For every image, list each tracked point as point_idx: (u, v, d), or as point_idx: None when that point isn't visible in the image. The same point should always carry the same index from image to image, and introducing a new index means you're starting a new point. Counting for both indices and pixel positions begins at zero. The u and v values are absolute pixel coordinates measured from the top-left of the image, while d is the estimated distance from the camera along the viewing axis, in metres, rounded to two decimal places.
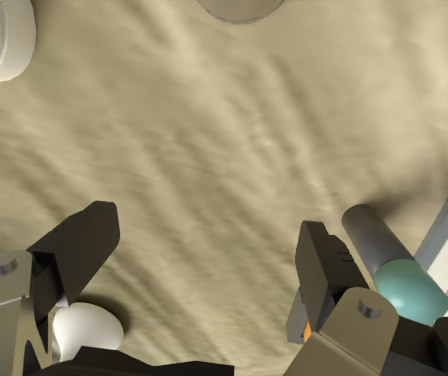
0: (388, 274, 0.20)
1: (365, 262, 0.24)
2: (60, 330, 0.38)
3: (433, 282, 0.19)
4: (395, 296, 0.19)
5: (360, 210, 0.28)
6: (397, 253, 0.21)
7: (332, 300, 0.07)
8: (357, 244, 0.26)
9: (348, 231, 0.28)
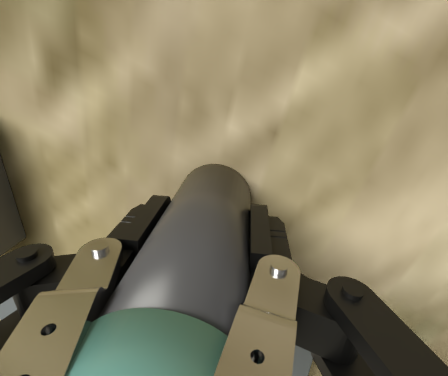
0: None
1: (164, 250, 0.07)
2: None
3: None
4: None
5: (247, 194, 0.12)
6: None
7: (256, 267, 0.08)
8: (194, 209, 0.09)
9: (200, 181, 0.11)
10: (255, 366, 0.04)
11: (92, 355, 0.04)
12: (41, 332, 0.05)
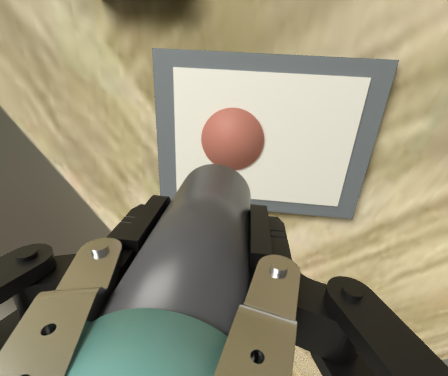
0: None
1: (164, 250, 0.07)
2: None
3: None
4: None
5: (247, 194, 0.12)
6: None
7: (256, 267, 0.08)
8: (194, 209, 0.09)
9: (200, 181, 0.11)
10: (255, 366, 0.04)
11: (92, 355, 0.04)
12: (41, 332, 0.05)
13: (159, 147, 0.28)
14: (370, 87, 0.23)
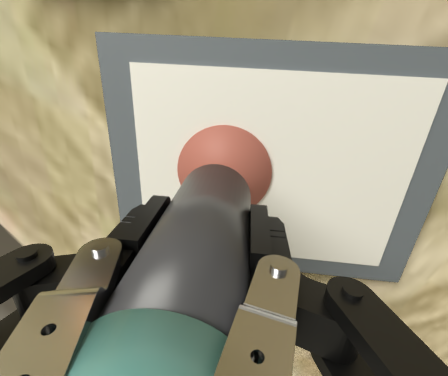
0: None
1: (164, 250, 0.07)
2: None
3: None
4: None
5: (247, 194, 0.12)
6: None
7: (256, 267, 0.08)
8: (193, 209, 0.09)
9: (200, 181, 0.11)
10: (255, 366, 0.04)
11: (92, 356, 0.04)
12: (41, 332, 0.05)
13: (117, 181, 0.19)
14: (445, 94, 0.14)
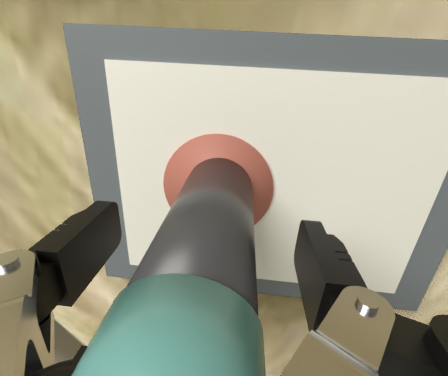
0: (223, 331, 0.05)
1: (181, 230, 0.08)
2: None
3: None
4: None
5: (249, 185, 0.13)
6: (256, 303, 0.07)
7: (329, 299, 0.07)
8: (203, 196, 0.10)
9: (206, 173, 0.12)
10: None
11: (133, 308, 0.05)
12: None
13: (95, 196, 0.16)
14: None
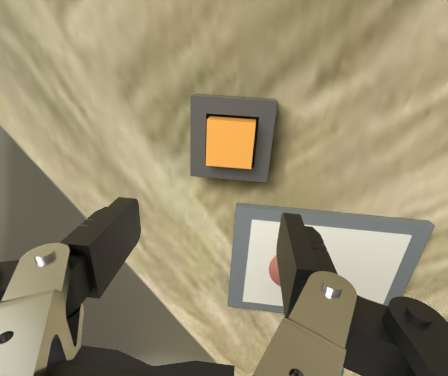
0: None
1: None
2: None
3: None
4: None
5: None
6: None
7: (301, 284, 0.08)
8: None
9: None
10: None
11: None
12: None
13: (232, 270, 0.34)
14: (410, 241, 0.29)
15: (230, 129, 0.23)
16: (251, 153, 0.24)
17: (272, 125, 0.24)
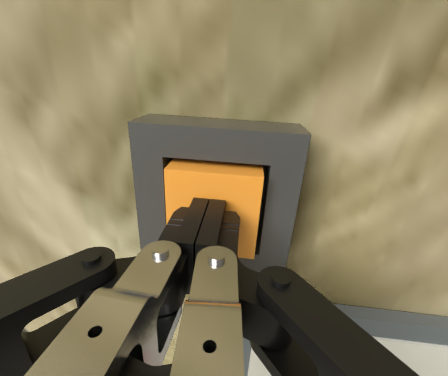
0: None
1: None
2: None
3: None
4: None
5: None
6: None
7: None
8: None
9: None
10: (209, 356, 0.04)
11: None
12: (89, 332, 0.05)
13: None
14: None
15: (212, 189, 0.11)
16: (254, 232, 0.12)
17: (298, 181, 0.12)
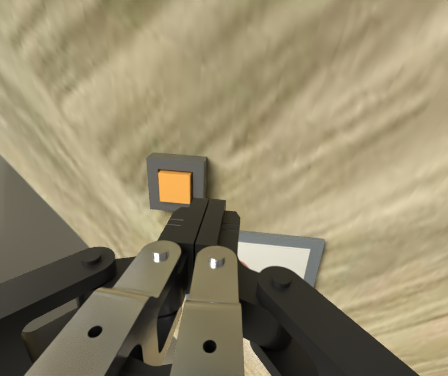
0: None
1: None
2: None
3: None
4: None
5: None
6: None
7: None
8: None
9: None
10: (209, 356, 0.04)
11: None
12: (89, 333, 0.05)
13: None
14: (310, 253, 0.41)
15: (173, 179, 0.35)
16: (188, 194, 0.36)
17: (202, 177, 0.36)
